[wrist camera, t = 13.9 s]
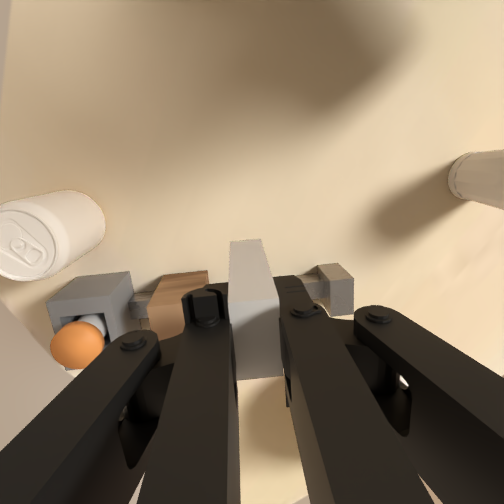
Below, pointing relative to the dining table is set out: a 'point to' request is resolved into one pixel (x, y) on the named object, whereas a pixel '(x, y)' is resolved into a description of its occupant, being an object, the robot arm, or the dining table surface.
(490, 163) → the cup
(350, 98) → the dining table surface
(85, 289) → the housing
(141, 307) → the rail
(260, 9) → the dining table surface
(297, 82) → the dining table surface
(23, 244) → the beverage can
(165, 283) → the carriage
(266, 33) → the dining table surface
